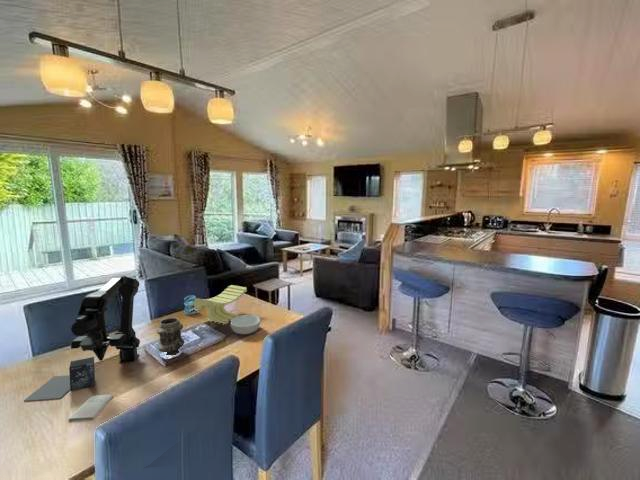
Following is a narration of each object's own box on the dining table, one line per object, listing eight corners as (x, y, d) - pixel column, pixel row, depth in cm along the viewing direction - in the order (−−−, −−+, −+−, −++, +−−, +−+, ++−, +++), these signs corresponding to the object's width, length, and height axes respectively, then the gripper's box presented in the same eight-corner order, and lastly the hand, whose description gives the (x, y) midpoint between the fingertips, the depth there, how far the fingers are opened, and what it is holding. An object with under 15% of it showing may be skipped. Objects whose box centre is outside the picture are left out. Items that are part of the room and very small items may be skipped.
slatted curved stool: (229, 308, 214) (228, 284, 211) (247, 312, 207) (246, 287, 205) (195, 325, 187) (193, 297, 185) (214, 330, 180) (213, 301, 178)
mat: (86, 375, 135) (86, 374, 135) (60, 398, 120) (60, 397, 120) (54, 377, 134) (53, 376, 134) (23, 401, 118) (23, 400, 118)
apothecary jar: (176, 346, 161) (174, 313, 159) (189, 353, 154) (187, 319, 152) (153, 355, 152) (150, 321, 149) (166, 363, 145) (163, 327, 142)
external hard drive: (68, 422, 108) (90, 399, 120) (93, 420, 109) (113, 397, 121) (68, 418, 108) (90, 395, 120) (93, 416, 109) (112, 394, 121)
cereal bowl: (224, 335, 174) (224, 323, 173) (242, 323, 190) (242, 313, 189) (249, 340, 168) (249, 328, 167) (265, 328, 183) (265, 317, 182)
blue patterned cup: (182, 313, 206) (181, 296, 204) (195, 309, 212) (193, 293, 210) (186, 316, 201) (185, 299, 199) (199, 313, 206) (198, 296, 204)
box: (70, 391, 123) (68, 367, 122) (72, 384, 128) (70, 360, 126) (94, 386, 128) (93, 362, 126) (95, 378, 132) (94, 356, 131)
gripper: (58, 335, 116) (63, 372, 118) (111, 332, 118) (115, 369, 121) (77, 322, 127) (81, 357, 129) (125, 320, 129) (128, 354, 132)
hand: (101, 360), depth 127 cm, fingers closed
